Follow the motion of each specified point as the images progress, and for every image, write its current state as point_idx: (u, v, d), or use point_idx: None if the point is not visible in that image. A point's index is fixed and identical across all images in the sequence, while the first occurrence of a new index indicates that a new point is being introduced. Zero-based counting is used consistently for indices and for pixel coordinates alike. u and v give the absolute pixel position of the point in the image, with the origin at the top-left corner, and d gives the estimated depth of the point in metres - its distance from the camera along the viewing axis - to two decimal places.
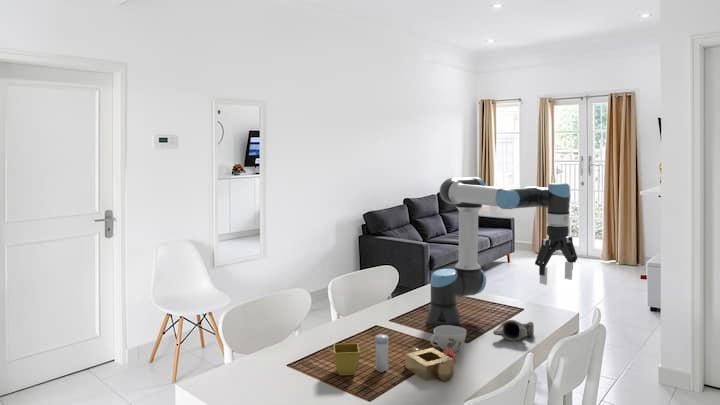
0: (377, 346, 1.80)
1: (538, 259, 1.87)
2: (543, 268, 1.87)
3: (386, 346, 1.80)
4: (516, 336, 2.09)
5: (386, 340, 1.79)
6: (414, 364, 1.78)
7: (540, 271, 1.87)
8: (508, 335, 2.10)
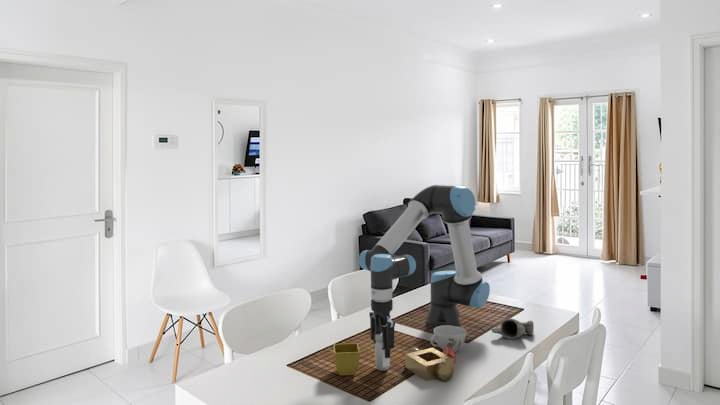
0: (377, 344, 1.80)
1: None
2: (375, 344, 1.84)
3: None
4: (515, 334, 2.10)
5: None
6: (414, 364, 1.78)
7: None
8: (507, 333, 2.12)
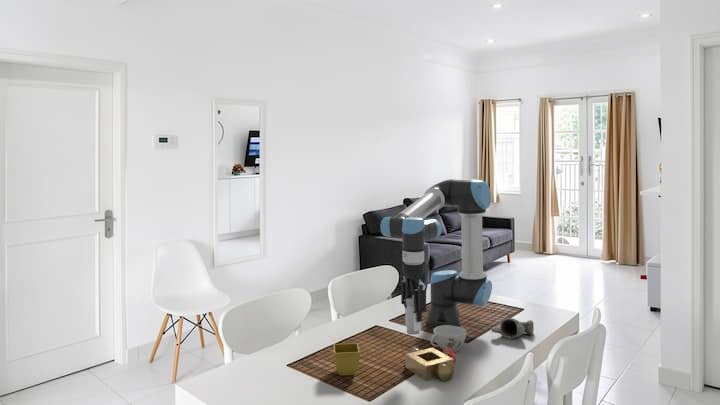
0: (408, 308, 1.78)
1: None
2: (406, 308, 1.82)
3: None
4: (514, 334, 2.11)
5: None
6: (414, 364, 1.78)
7: None
8: (506, 333, 2.13)
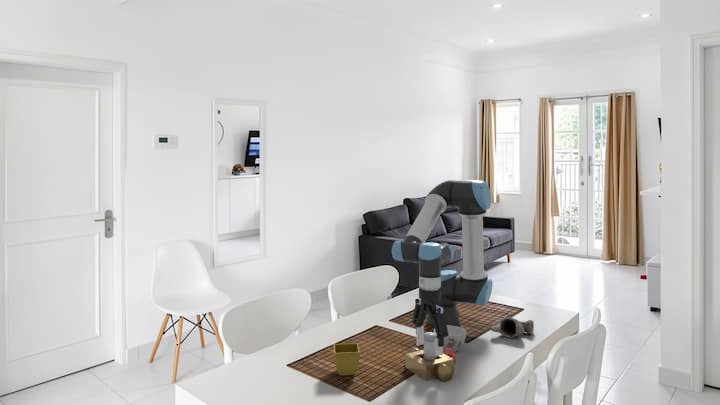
0: (426, 344, 1.79)
1: None
2: (416, 328, 1.85)
3: None
4: (514, 333, 2.12)
5: None
6: (414, 364, 1.78)
7: None
8: (506, 332, 2.13)
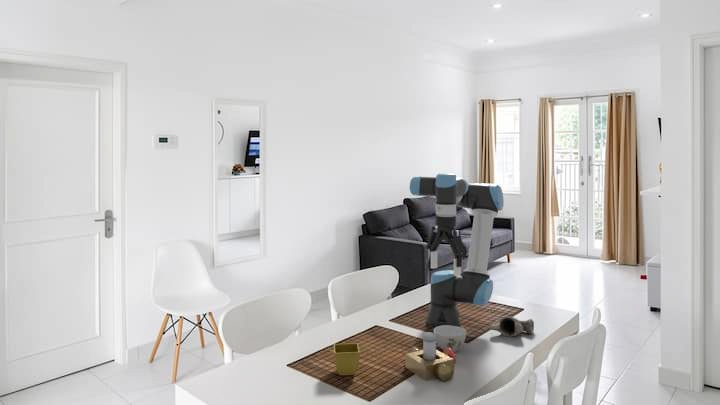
0: (425, 344, 1.79)
1: None
2: (431, 252, 1.98)
3: (435, 344, 1.79)
4: (513, 332, 2.13)
5: (434, 338, 1.78)
6: (414, 364, 1.78)
7: None
8: (505, 331, 2.15)
